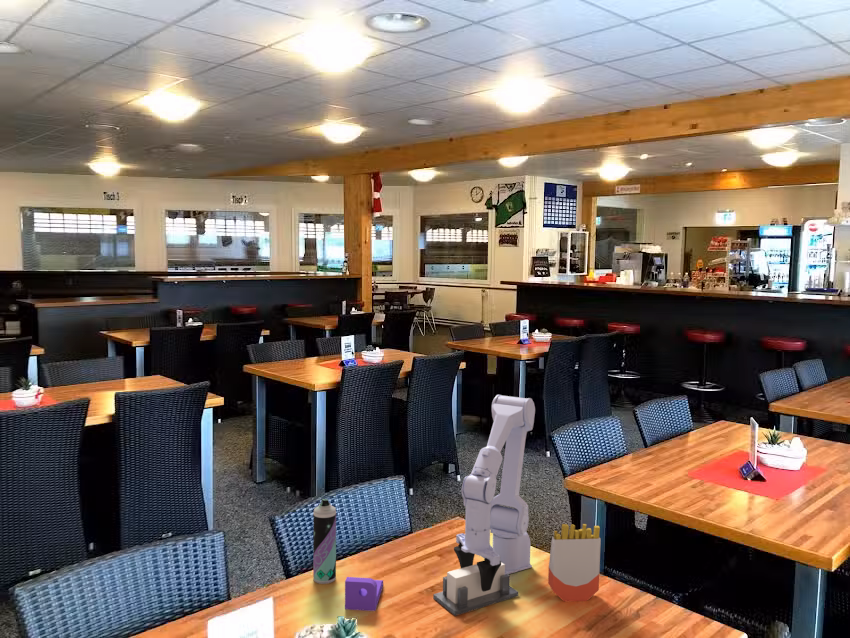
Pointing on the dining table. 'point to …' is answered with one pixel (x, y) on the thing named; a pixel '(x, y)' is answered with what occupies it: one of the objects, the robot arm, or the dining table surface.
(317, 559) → the spray can
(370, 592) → the bracket
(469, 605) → the grey tray
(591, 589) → the french fries container
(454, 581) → the block
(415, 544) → the dining table surface
